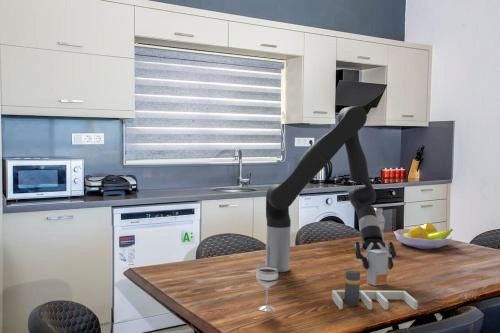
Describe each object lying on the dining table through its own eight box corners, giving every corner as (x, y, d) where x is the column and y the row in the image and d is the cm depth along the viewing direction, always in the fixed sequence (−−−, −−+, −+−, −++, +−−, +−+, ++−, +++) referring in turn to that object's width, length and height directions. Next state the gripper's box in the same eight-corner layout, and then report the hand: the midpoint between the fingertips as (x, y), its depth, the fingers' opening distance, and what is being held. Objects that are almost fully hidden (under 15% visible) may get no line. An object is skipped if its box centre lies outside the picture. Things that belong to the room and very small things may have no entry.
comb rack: (339, 309, 140) (339, 301, 140) (331, 297, 150) (332, 290, 150) (417, 309, 141) (417, 301, 141) (404, 298, 151) (404, 290, 151)
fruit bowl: (383, 241, 238) (384, 219, 237) (427, 239, 246) (428, 218, 245) (418, 254, 211) (419, 230, 210) (466, 251, 219) (468, 228, 219)
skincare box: (374, 286, 163) (376, 252, 162) (366, 282, 167) (367, 250, 166) (387, 284, 166) (389, 251, 165) (379, 280, 170) (380, 248, 169)
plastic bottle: (384, 253, 212) (386, 209, 211) (369, 252, 214) (371, 209, 212) (383, 249, 219) (385, 207, 217) (368, 248, 220) (370, 207, 219)
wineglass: (258, 303, 143) (259, 265, 143) (280, 306, 142) (281, 267, 141) (252, 310, 137) (253, 270, 136) (274, 313, 135) (275, 273, 134)
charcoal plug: (346, 306, 142) (347, 274, 142) (342, 301, 147) (343, 270, 146) (361, 306, 143) (362, 274, 142) (356, 301, 147) (358, 270, 147)
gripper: (353, 224, 172) (361, 263, 162) (391, 224, 173) (401, 263, 162) (349, 235, 178) (356, 273, 167) (385, 235, 179) (395, 273, 168)
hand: (379, 268), depth 165 cm, fingers open, 8 cm apart
